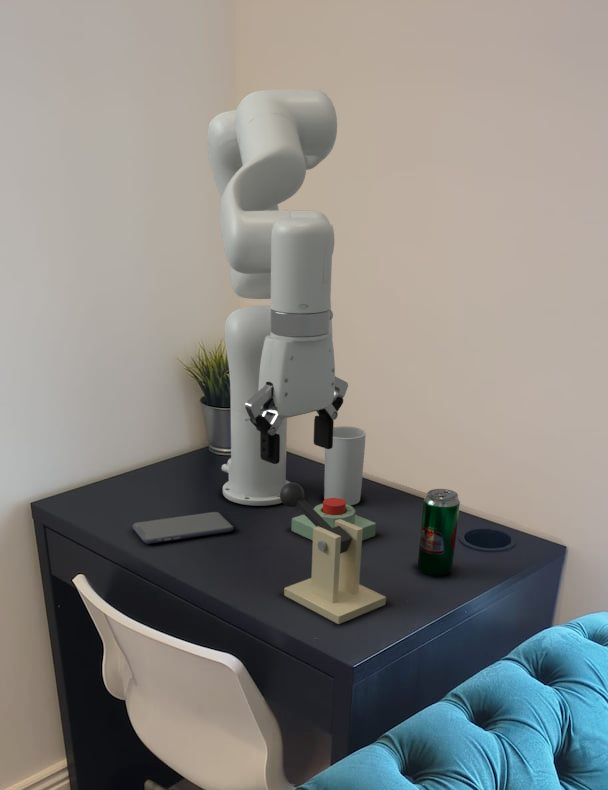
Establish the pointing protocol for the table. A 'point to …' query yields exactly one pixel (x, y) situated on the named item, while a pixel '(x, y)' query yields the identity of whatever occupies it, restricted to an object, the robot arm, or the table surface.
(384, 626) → the table surface
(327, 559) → the lever bracket
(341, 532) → the ball knob handle
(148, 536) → the smartphone
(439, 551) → the soda can
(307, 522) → the control block
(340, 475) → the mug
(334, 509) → the button
